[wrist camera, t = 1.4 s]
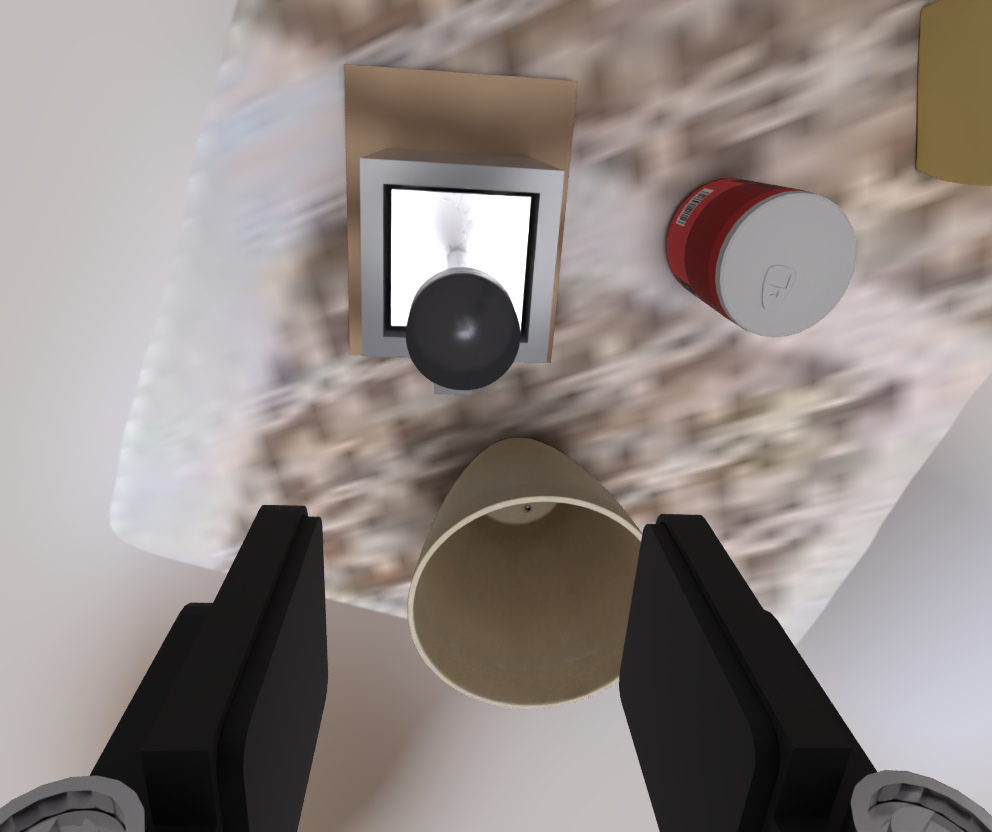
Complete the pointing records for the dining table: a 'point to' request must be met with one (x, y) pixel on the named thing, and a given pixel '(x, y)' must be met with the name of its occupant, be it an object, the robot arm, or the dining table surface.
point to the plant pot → (525, 580)
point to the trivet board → (450, 135)
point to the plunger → (459, 282)
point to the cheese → (955, 92)
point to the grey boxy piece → (457, 176)
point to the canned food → (762, 254)
